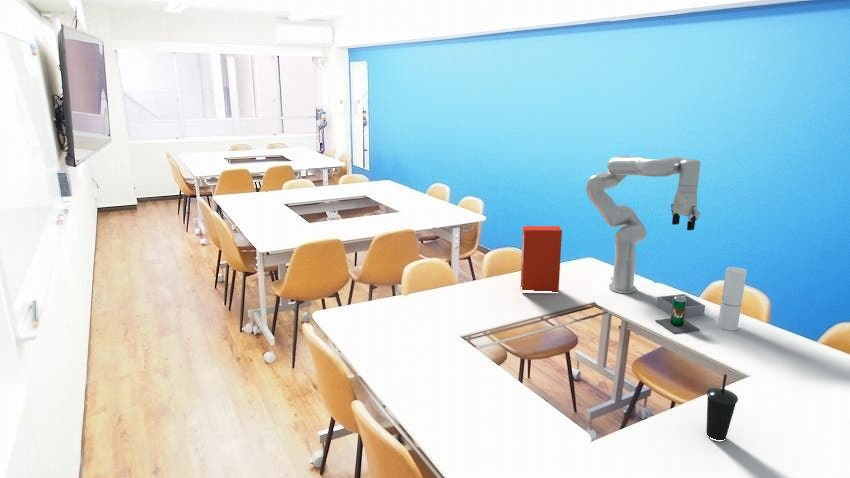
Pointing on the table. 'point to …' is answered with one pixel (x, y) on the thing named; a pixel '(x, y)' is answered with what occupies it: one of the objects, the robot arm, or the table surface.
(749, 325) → the table surface
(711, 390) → the drinking cup
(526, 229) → the file binder
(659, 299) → the grey bin
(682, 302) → the soda can
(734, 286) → the cylindrical container
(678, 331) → the mat
